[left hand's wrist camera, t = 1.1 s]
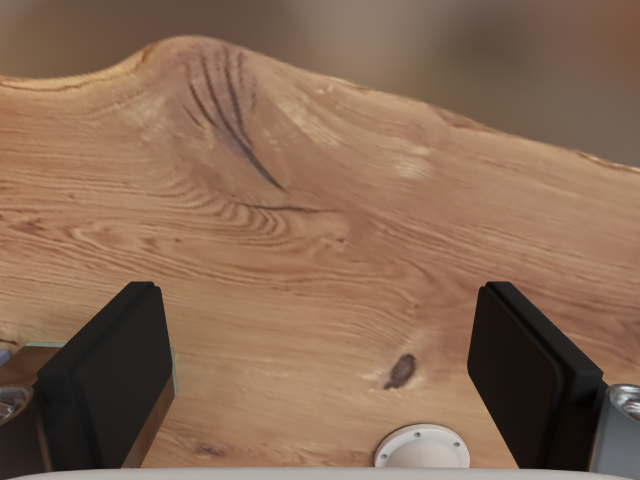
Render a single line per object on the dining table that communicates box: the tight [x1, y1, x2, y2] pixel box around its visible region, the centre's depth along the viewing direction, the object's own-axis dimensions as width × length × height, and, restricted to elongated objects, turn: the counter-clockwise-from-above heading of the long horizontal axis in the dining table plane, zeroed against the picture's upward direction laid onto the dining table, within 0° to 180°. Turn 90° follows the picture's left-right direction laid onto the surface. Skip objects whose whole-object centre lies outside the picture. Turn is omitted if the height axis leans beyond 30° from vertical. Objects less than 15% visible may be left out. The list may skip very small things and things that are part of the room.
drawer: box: [0, 350, 11, 366], centre depth 42 cm, size 22×5×9 cm, turn 87°
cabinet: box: [0, 342, 177, 468], centre depth 42 cm, size 17×7×11 cm, turn 87°
